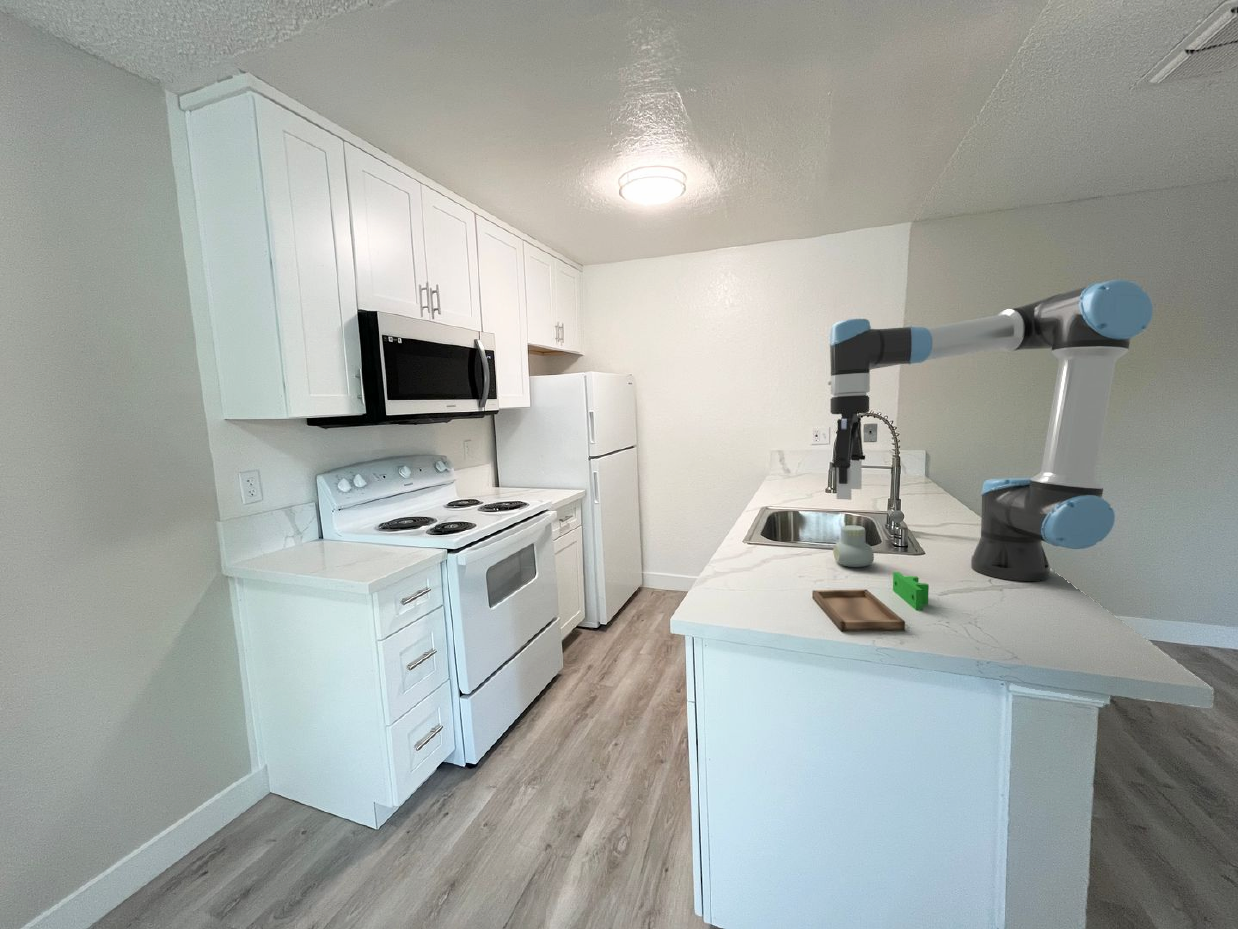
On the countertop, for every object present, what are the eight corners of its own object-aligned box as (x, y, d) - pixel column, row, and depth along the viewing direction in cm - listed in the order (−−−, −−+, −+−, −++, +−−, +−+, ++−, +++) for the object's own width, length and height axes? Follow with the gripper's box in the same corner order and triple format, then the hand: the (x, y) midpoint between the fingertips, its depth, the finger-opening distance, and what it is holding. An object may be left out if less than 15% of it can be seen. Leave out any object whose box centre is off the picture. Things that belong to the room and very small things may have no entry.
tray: (866, 597, 109) (866, 589, 109) (904, 630, 92) (905, 621, 92) (812, 598, 110) (812, 590, 109) (840, 631, 93) (841, 622, 93)
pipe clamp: (935, 611, 101) (936, 589, 100) (915, 611, 101) (916, 589, 101) (910, 591, 112) (910, 571, 111) (892, 591, 112) (893, 571, 112)
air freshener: (831, 558, 138) (831, 522, 136) (863, 558, 136) (864, 523, 135) (841, 570, 127) (841, 532, 126) (875, 571, 125) (876, 532, 124)
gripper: (841, 396, 118) (841, 484, 120) (817, 396, 97) (818, 502, 99) (876, 394, 113) (876, 485, 116) (860, 393, 93) (859, 505, 95)
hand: (849, 493), depth 107 cm, fingers open, 13 cm apart
